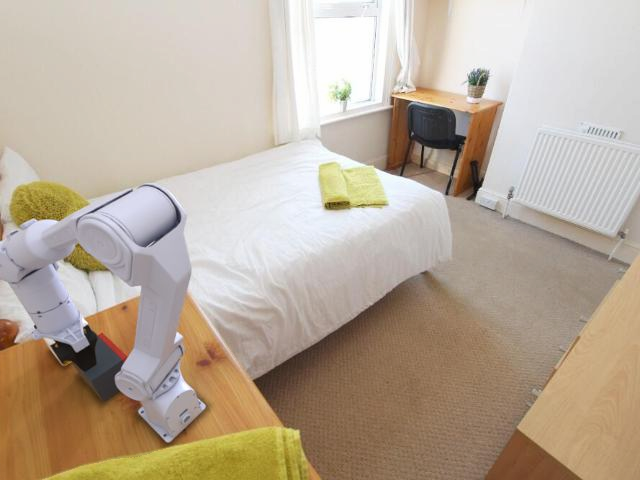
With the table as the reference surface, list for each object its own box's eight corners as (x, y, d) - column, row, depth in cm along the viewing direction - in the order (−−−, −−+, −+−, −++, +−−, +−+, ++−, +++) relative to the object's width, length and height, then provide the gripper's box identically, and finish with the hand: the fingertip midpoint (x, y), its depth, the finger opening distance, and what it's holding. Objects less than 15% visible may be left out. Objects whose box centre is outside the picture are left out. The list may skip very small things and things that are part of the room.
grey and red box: (103, 402, 63) (137, 377, 67) (90, 381, 59) (127, 356, 64) (79, 375, 68) (112, 353, 72) (66, 353, 64) (102, 332, 69)
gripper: (1, 297, 55) (39, 352, 62) (36, 337, 48) (74, 394, 55) (50, 275, 60) (79, 328, 67) (88, 308, 53) (117, 364, 60)
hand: (80, 356), depth 61 cm, fingers open, 7 cm apart
